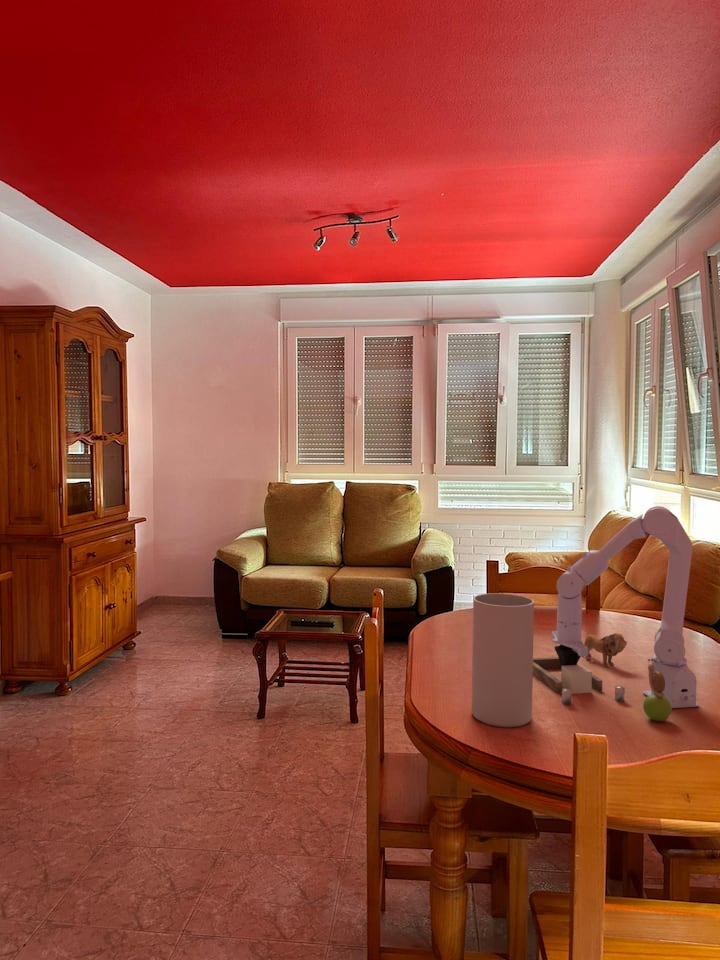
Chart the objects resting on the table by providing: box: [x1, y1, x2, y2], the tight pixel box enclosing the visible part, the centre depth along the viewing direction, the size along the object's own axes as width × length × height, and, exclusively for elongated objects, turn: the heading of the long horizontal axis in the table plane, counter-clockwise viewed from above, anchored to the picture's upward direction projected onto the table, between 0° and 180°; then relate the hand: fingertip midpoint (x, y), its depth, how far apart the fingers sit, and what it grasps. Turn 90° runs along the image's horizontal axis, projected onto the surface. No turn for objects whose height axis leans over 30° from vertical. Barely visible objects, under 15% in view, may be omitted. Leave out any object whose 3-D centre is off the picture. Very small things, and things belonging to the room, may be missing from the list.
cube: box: [560, 664, 593, 695], centre depth 152 cm, size 5×5×5 cm
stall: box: [533, 656, 603, 694], centre depth 159 cm, size 18×11×2 cm, turn 10°
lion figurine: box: [583, 632, 628, 668], centre depth 173 cm, size 15×5×9 cm, turn 34°
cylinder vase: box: [471, 592, 535, 728], centre depth 135 cm, size 12×12×25 cm
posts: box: [561, 685, 626, 706], centre depth 144 cm, size 2×15×3 cm, turn 100°
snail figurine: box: [642, 658, 673, 722], centre depth 135 cm, size 5×6×12 cm
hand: (568, 676), depth 156 cm, fingers closed
